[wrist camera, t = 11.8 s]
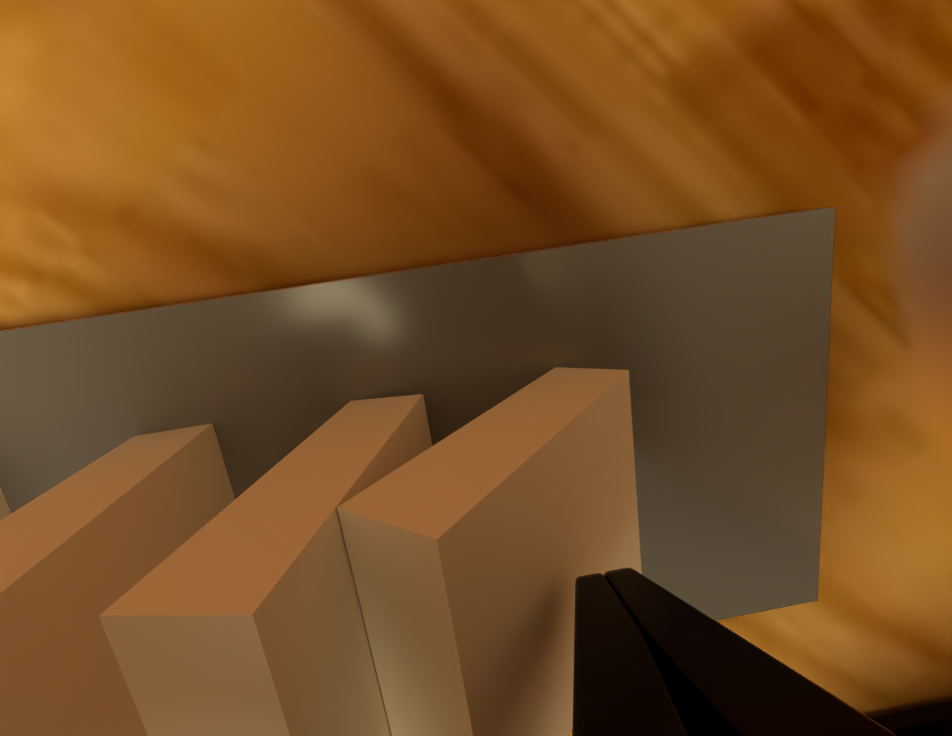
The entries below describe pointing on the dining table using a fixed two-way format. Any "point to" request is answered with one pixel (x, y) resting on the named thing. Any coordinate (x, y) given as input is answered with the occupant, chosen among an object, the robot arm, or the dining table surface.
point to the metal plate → (495, 380)
